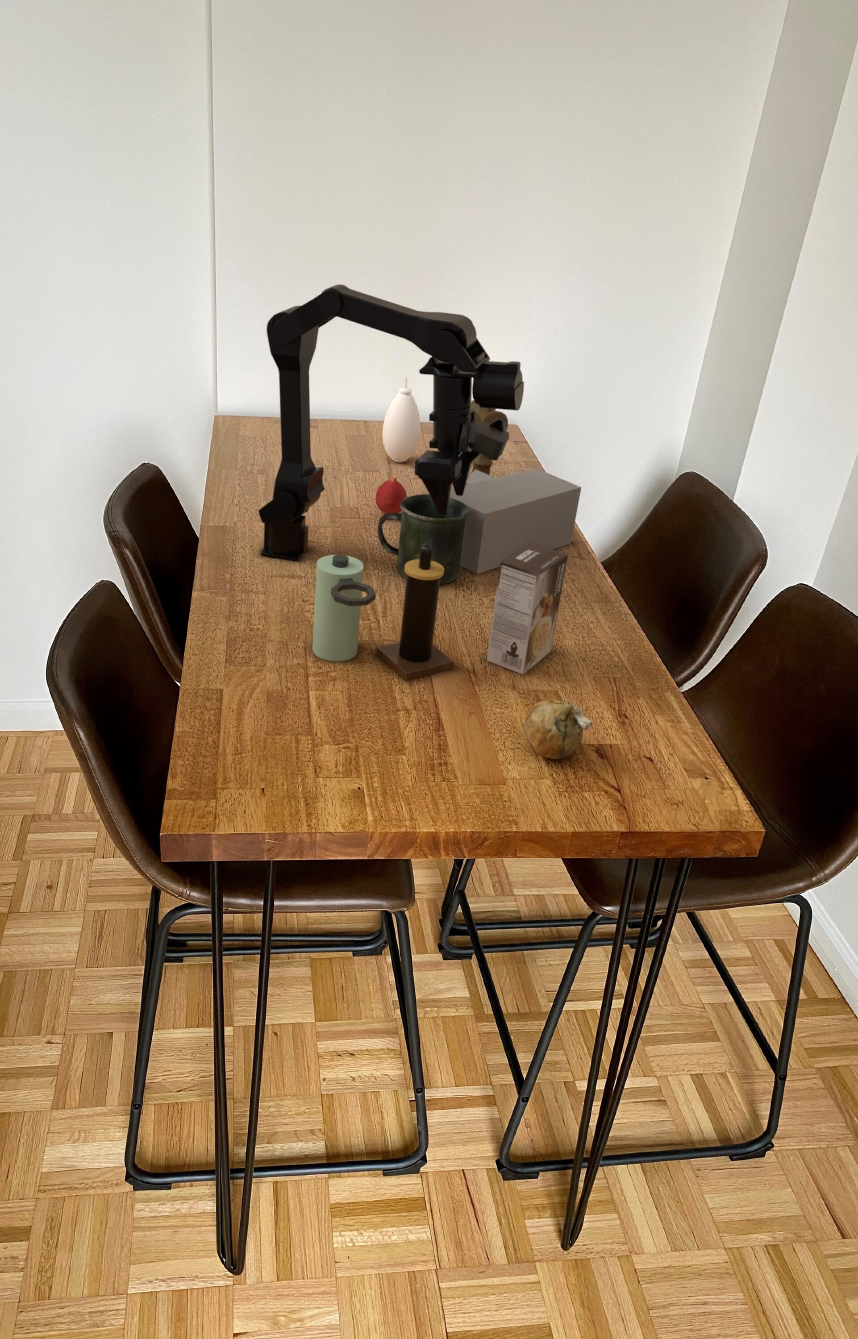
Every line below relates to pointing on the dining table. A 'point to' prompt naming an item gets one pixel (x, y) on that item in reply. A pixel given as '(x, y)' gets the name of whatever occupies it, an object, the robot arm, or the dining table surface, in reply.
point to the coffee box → (526, 607)
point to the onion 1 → (390, 496)
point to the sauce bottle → (401, 426)
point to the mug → (428, 533)
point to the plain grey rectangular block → (515, 515)
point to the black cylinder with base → (418, 622)
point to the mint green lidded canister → (338, 606)
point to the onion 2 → (555, 728)
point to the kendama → (488, 416)
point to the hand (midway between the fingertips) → (451, 504)
